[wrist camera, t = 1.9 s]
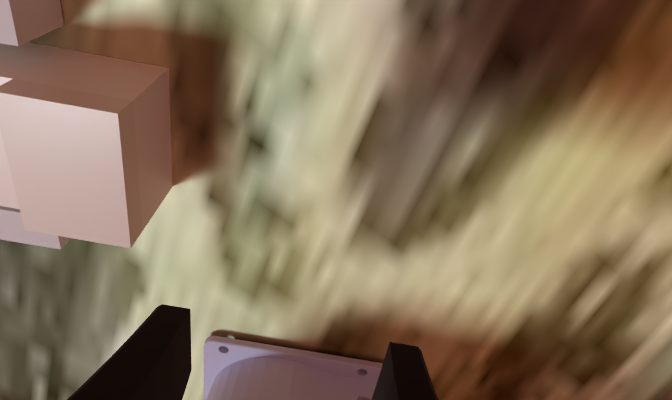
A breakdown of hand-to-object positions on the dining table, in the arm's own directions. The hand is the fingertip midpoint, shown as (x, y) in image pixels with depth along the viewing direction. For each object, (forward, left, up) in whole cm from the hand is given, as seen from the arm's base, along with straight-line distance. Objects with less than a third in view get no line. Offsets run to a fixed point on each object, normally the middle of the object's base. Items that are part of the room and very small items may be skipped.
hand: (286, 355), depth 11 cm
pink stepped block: (+9, 0, -10) cm, 13 cm away
